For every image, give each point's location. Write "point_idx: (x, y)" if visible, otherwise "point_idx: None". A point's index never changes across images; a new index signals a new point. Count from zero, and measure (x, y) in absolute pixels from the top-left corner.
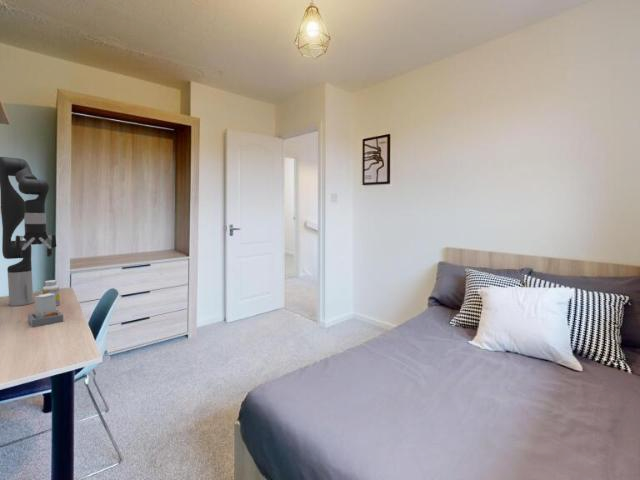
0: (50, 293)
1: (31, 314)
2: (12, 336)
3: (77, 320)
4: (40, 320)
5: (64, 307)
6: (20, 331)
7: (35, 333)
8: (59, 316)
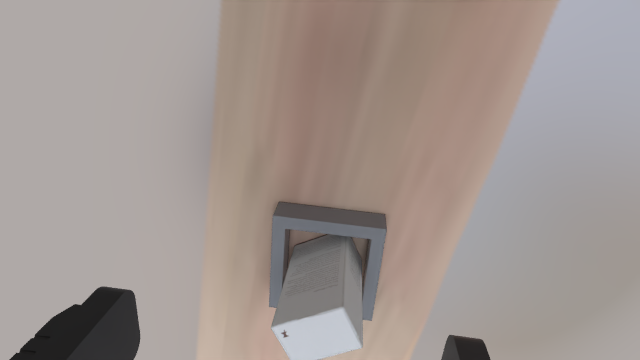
0: (347, 322)
1: (284, 221)
2: (214, 334)
3: (410, 327)
4: None
5: (475, 61)
6: (238, 304)
7: (268, 355)
8: None
